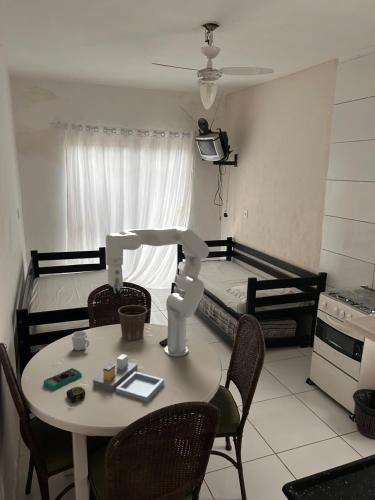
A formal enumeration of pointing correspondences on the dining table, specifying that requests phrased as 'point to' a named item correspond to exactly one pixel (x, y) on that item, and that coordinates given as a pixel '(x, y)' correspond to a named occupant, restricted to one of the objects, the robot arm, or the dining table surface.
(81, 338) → the cup
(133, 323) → the plant pot
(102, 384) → the fuse block
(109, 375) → the block
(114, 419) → the dining table surface
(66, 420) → the dining table surface
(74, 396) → the tape measure
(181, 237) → the robot arm
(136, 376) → the parts tray
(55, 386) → the digital multimeter
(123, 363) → the block
